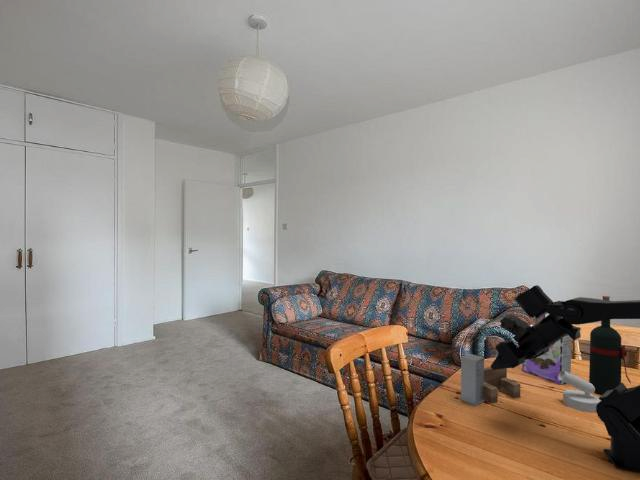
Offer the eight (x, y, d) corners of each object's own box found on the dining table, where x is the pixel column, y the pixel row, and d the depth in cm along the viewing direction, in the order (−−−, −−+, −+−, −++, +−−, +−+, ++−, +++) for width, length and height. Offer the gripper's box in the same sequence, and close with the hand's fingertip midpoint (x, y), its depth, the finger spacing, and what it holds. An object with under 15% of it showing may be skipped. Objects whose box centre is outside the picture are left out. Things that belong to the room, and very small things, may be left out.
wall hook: (552, 365, 107) (590, 367, 105) (552, 396, 108) (589, 399, 106) (566, 376, 99) (607, 379, 97) (566, 410, 99) (606, 413, 97)
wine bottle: (629, 402, 104) (631, 300, 103) (586, 391, 111) (588, 296, 110) (632, 394, 109) (633, 297, 109) (591, 384, 116) (592, 293, 116)
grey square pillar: (483, 402, 103) (484, 357, 103) (475, 406, 101) (475, 360, 101) (469, 396, 107) (469, 353, 107) (460, 400, 104) (461, 356, 104)
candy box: (521, 370, 128) (521, 325, 128) (531, 368, 131) (532, 323, 131) (560, 385, 116) (561, 335, 116) (571, 382, 118) (572, 333, 118)
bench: (523, 396, 107) (523, 373, 107) (487, 403, 102) (488, 379, 102) (502, 386, 114) (502, 365, 114) (468, 393, 109) (468, 370, 109)
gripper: (537, 303, 98) (497, 333, 107) (504, 311, 87) (462, 344, 96) (569, 337, 92) (524, 367, 101) (538, 351, 81) (490, 382, 90)
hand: (500, 364), depth 97 cm, fingers open, 9 cm apart
